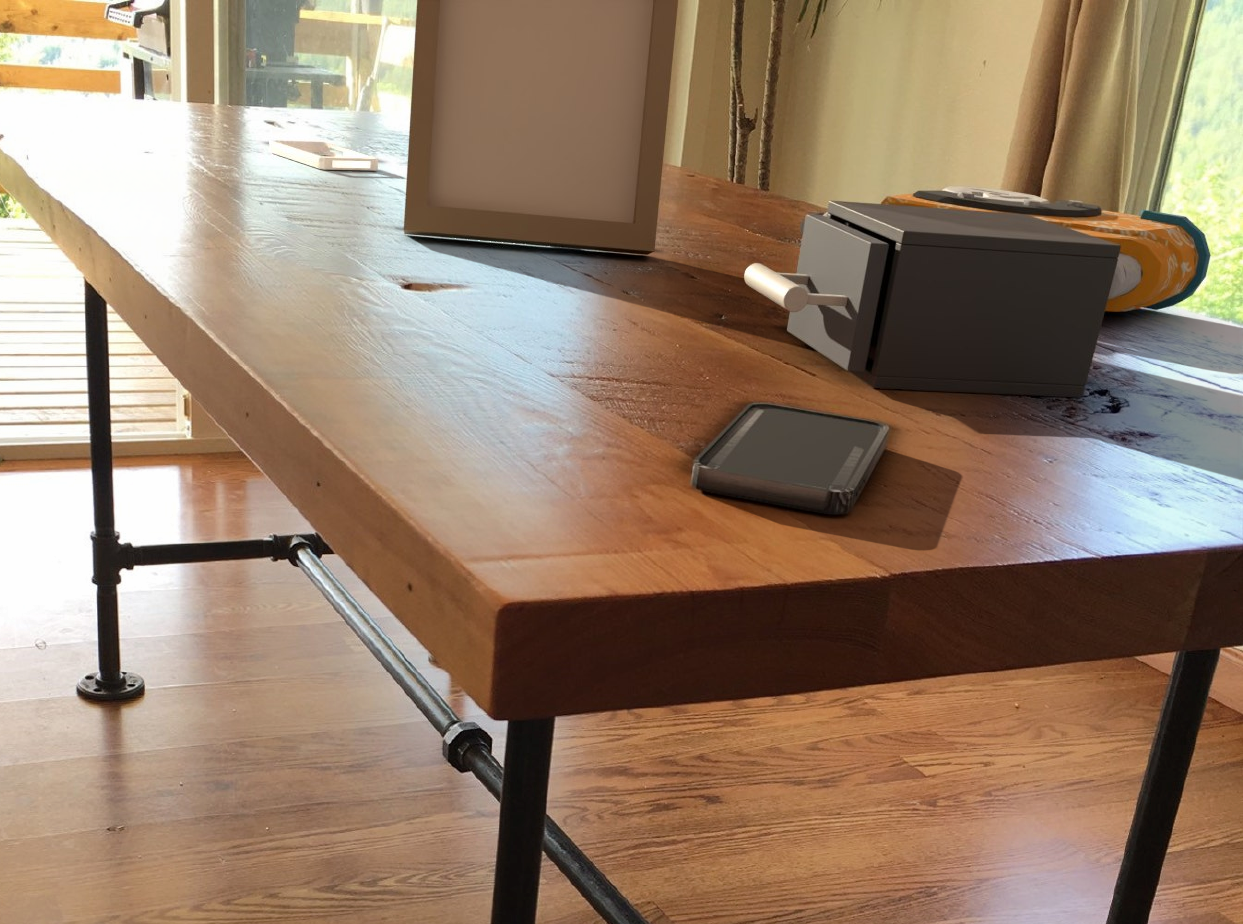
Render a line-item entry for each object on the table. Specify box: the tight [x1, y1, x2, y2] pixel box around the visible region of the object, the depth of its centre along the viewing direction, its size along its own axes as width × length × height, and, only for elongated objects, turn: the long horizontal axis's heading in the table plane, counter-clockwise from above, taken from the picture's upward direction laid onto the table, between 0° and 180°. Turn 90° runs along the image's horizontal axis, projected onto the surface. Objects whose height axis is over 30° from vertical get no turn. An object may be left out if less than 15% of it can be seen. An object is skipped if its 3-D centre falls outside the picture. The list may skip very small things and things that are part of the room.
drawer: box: [743, 213, 898, 372], centre depth 100 cm, size 18×11×8 cm, turn 100°
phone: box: [689, 401, 890, 516], centre depth 78 cm, size 8×1×15 cm
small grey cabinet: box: [804, 200, 1121, 399], centre depth 101 cm, size 15×13×10 cm
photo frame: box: [403, 0, 679, 256], centre depth 133 cm, size 15×22×25 cm
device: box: [799, 185, 1211, 312], centre depth 130 cm, size 23×8×30 cm
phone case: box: [268, 139, 379, 172], centre depth 177 cm, size 7×1×15 cm
